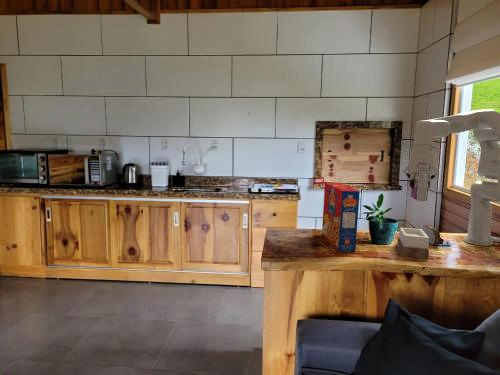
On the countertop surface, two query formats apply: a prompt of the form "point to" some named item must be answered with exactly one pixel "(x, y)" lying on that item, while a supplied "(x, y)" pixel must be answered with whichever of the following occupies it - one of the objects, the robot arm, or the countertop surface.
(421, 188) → the candy bar box
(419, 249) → the tower base
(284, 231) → the countertop surface
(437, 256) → the countertop surface
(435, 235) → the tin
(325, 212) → the cereal box
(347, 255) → the countertop surface
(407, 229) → the tower top
